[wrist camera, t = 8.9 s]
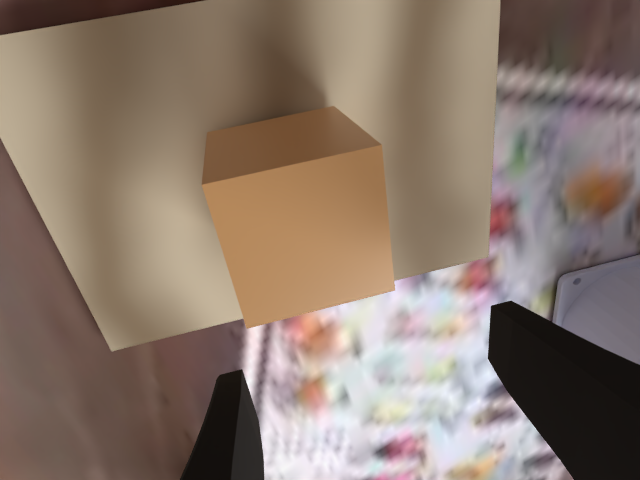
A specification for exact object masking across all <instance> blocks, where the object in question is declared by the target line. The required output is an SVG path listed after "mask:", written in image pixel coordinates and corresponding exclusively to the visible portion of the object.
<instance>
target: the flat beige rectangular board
mask: <svg viewBox="0 0 640 480" xmlns="http://www.w3.org/2000/svg"><path fill="white" fill-rule="evenodd" d="M499 22H500V0H205V1H199V2H194V3H188V4H182V5H176V6H170V7H164V8H158V9H152V10H147V11H141V12H135V13H129V14H123V15H117V16H111V17H105V18H99V19H94V20H88V21H82V22H76V23H70V24H64V25H58V26H52V27H47V28H41V29H35V30H29V31H23V32H17V33H11V34H5V35H0V138H1V140H2V142H3V144H4V146H5V148H6V150H7V152H8V154H9V155H10V157H11V159H12V161H13V163H14V165H15V167H16V169H17V171H18V173H19V175H20V177H21V178H22V180H23V182H24V184H25V186H26V188H27V190H28V192H29V194H30V196H31V198H32V200H33V201H34V203H35V205H36V207H37V209H38V211H39V213H40V215H41V217H42V219H43V221H44V223H45V225H46V226H47V228H48V230H49V232H50V234H51V236H52V238H53V240H54V242H55V244H56V246H57V248H58V249H59V251H60V253H61V255H62V257H63V259H64V261H65V263H66V265H67V267H68V269H69V271H70V272H71V274H72V276H73V278H74V280H75V282H76V284H77V286H78V288H79V290H80V292H81V294H82V296H83V297H84V299H85V301H86V303H87V305H88V307H89V309H90V311H91V313H92V315H93V317H94V319H95V320H96V322H97V324H98V326H99V328H100V330H101V332H102V334H103V336H104V338H105V340H106V342H107V343H108V345H109V347H110V349H111V351H115V350H119V349H123V348H127V347H131V346H135V345H139V344H143V343H147V342H151V341H155V340H159V339H163V338H167V337H171V336H175V335H179V334H183V333H187V332H191V331H195V330H199V329H203V328H207V327H211V326H215V325H219V324H223V323H227V322H231V321H235V320H239V319H243V315H242V312H241V309H240V306H239V302H238V299H237V296H236V293H235V290H234V286H233V283H232V280H231V277H230V274H229V271H228V267H227V264H226V261H225V258H224V255H223V251H222V248H221V245H220V242H219V239H218V235H217V232H216V229H215V226H214V223H213V220H212V216H211V213H210V210H209V207H208V204H207V200H206V197H205V194H204V191H203V188H202V176H203V166H204V157H205V147H206V138H207V132H211V131H216V130H221V129H226V128H230V127H235V126H240V125H245V124H250V123H254V122H259V121H264V120H269V119H273V118H278V117H283V116H288V115H293V114H297V113H302V112H307V111H312V110H316V109H321V108H326V107H331V106H335V107H336V108H337V109H339V110H340V111H341V112H342V113H343V114H345V115H346V116H347V117H348V118H350V119H351V120H352V121H353V122H355V123H356V124H357V125H358V126H359V127H361V128H362V129H363V130H364V131H366V132H367V133H368V134H369V135H371V136H372V137H373V138H374V139H375V140H377V141H378V142H379V143H380V144H382V151H383V162H384V173H385V184H386V195H387V207H388V218H389V229H390V240H391V251H392V262H393V274H394V281H395V280H399V279H403V278H407V277H411V276H415V275H419V274H423V273H427V272H431V271H435V270H439V269H443V268H447V267H451V266H455V265H459V264H463V263H467V262H471V261H475V260H479V259H483V258H487V257H488V255H489V234H490V213H491V191H492V170H493V149H494V128H495V106H496V85H497V64H498V43H499Z"/></svg>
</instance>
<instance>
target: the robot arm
mask: <svg viewBox="0 0 640 480" xmlns="http://www.w3.org/2000/svg"><path fill="white" fill-rule="evenodd" d="M488 359H489V361H490V363H491V365H492V366H493V368H494V370H495V372H496V373H497V375H498V377H499V378H500V380H501V382H502V383H503V385H504V387H505V388H506V390H507V391H508V393H509V394H510V395H511V397H512V398H513V399H514V401H515V402H516V403H517V405H518V406H519V407H520V408H521V410H522V411H523V412H524V414H525V415H526V416H527V418H528V419H529V420H530V421H531V423H532V424H533V425H534V427H535V428H536V429H537V430H538V432H539V433H540V434H541V436H542V437H543V438H544V440H545V441H546V442H547V443H548V445H549V446H550V447H551V449H552V450H553V451H554V452H555V454H556V455H557V456H558V458H559V459H560V460H561V462H562V463H563V464H564V466H565V467H566V469H567V470H568V471H569V473H570V474H571V476H572V477H573V479H574V480H640V255H636V256H632V257H629V258H625V259H621V260H617V261H613V262H609V263H605V264H602V265H598V266H594V267H590V268H586V269H582V270H578V271H575V272H571V273H567V274H564V275H563V276H561V277H560V279H559V281H558V286H557V293H556V300H555V307H554V314H553V321H552V322H551V321H549V320H547V319H545V318H543V317H541V316H540V315H538V314H536V313H534V312H532V311H530V310H528V309H526V308H524V307H522V306H520V305H519V304H517V303H514V302H512V301H508V302H504V303H500V304H496V305H492V306H491V316H490V333H489V350H488ZM180 480H264V459H263V450H262V442H261V435H260V427H259V420H258V417H257V414H256V411H255V408H254V405H253V401H252V398H251V395H250V392H249V389H248V386H247V383H246V380H245V377H244V373H243V370H242V369H241V370H237V371H234V372H230V373H226V374H222V375H219V377H218V378H217V380H216V384H215V387H214V391H213V394H212V398H211V401H210V404H209V407H208V410H207V413H206V416H205V419H204V422H203V425H202V427H201V430H200V433H199V435H198V438H197V441H196V443H195V446H194V448H193V451H192V453H191V456H190V458H189V460H188V462H187V465H186V467H185V469H184V472H183V474H182V476H181V478H180Z"/></svg>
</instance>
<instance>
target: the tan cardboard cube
mask: <svg viewBox="0 0 640 480" xmlns="http://www.w3.org/2000/svg"><path fill="white" fill-rule="evenodd" d="M202 188H203V191H204V194H205V197H206V200H207V204H208V207H209V210H210V213H211V216H212V220H213V223H214V226H215V229H216V232H217V235H218V239H219V242H220V245H221V248H222V251H223V255H224V258H225V261H226V264H227V267H228V271H229V274H230V277H231V280H232V283H233V286H234V290H235V293H236V296H237V299H238V302H239V306H240V309H241V312H242V315H243V318H244V321H245V325H246V328H251V327H255V326H259V325H263V324H267V323H271V322H274V321H278V320H282V319H286V318H290V317H294V316H298V315H302V314H305V313H309V312H313V311H317V310H321V309H325V308H329V307H332V306H336V305H340V304H344V303H348V302H352V301H356V300H360V299H363V298H367V297H371V296H375V295H379V294H383V293H387V292H391V291H394V290H395V285H394V274H393V262H392V251H391V240H390V229H389V218H388V207H387V195H386V184H385V173H384V162H383V151H382V144H380V143H379V142H378V141H377V140H375V139H374V138H373V137H372V136H371V135H369V134H368V133H367V132H366V131H364V130H363V129H362V128H361V127H359V126H358V125H357V124H356V123H355V122H353V121H352V120H351V119H350V118H348V117H347V116H346V115H345V114H343V113H342V112H341V111H340V110H339V109H337V108H336V107H335V106H331V107H326V108H321V109H316V110H312V111H307V112H302V113H297V114H293V115H288V116H283V117H278V118H273V119H269V120H264V121H259V122H254V123H250V124H245V125H240V126H235V127H230V128H226V129H221V130H216V131H211V132H207V138H206V147H205V157H204V166H203V176H202Z"/></svg>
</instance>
